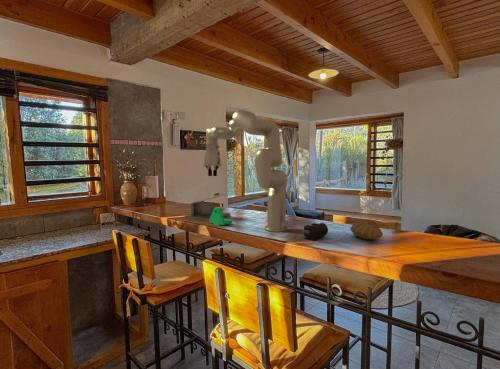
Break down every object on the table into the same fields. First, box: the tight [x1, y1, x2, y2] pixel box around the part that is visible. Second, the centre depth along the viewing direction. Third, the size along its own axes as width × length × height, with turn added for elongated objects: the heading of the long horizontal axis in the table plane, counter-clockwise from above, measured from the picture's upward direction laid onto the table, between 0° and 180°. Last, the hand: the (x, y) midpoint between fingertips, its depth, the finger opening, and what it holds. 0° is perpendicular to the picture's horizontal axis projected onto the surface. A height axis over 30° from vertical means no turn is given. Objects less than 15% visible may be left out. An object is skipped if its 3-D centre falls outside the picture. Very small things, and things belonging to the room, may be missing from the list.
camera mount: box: [208, 206, 233, 226], centre depth 163 cm, size 12×8×10 cm, turn 48°
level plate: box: [190, 192, 225, 204], centre depth 182 cm, size 17×14×2 cm
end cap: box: [303, 222, 329, 242], centre depth 130 cm, size 10×7×7 cm
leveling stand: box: [184, 200, 231, 222], centre depth 183 cm, size 22×20×10 cm
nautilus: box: [349, 220, 384, 241], centre depth 131 cm, size 8×22×15 cm
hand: (212, 175), depth 183 cm, fingers open, 3 cm apart
